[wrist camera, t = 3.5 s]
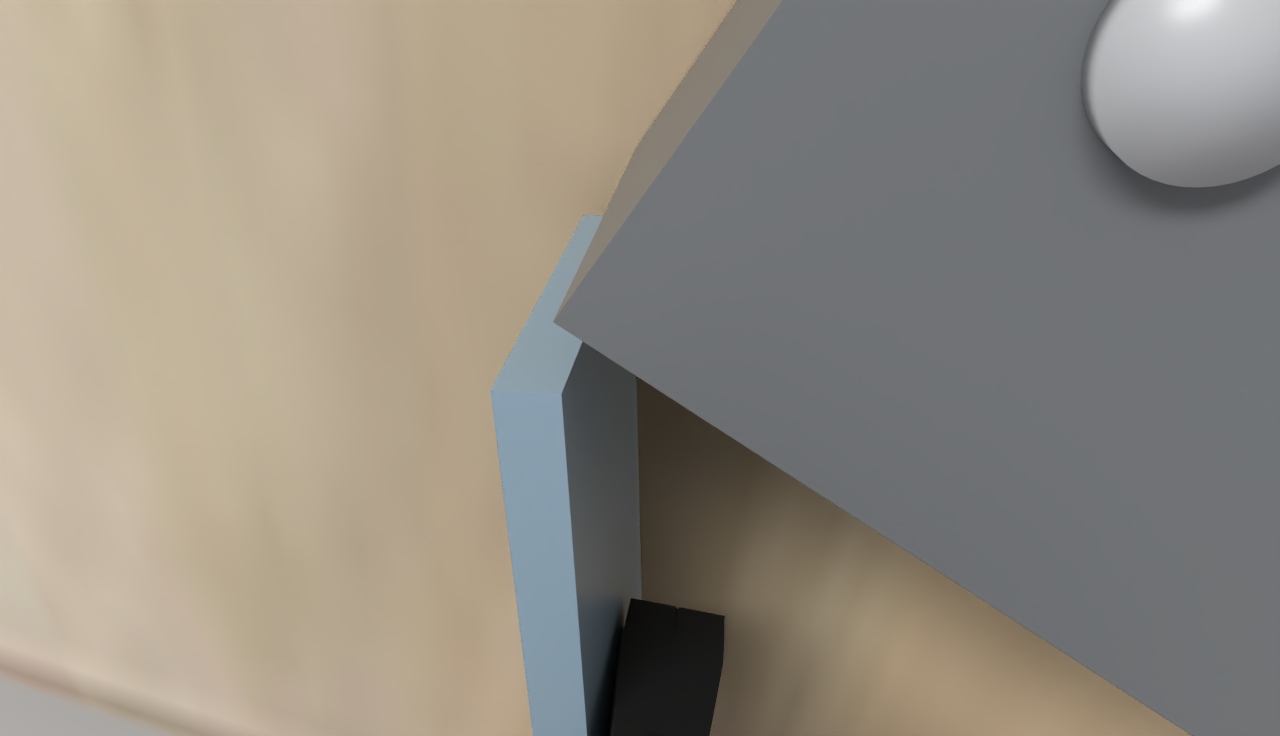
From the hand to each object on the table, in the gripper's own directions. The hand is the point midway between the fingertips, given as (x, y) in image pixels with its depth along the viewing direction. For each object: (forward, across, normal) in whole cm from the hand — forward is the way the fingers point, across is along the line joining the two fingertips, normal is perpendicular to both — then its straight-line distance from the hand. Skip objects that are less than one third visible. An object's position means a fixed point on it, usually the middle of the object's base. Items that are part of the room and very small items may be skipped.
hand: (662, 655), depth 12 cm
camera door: (+2, +1, -1) cm, 2 cm away
